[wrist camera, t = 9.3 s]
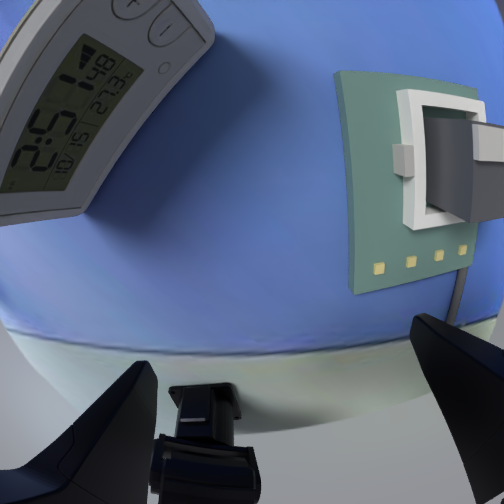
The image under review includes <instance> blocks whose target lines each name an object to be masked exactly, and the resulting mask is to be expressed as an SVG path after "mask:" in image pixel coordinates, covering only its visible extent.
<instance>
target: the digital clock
mask: <svg viewBox="0 0 504 504" xmlns="http://www.w3.org/2000/svg"><path fill="white" fill-rule="evenodd" d="M214 41H215V29H214V25H213V23H212V21H211V19H210V18H209V17H208V15H207V14H206V12H205V11H204V9H203V8H202V6H201V5H200V4H199V2H198V1H197V0H35V2H34V3H33V4H32V6H31V7H30V8H29V10H28V11H27V12H26V14H25V15H24V16H23V18H22V19H21V21H20V22H19V24H18V25H17V26H16V28H15V29H14V31H13V33H12V34H11V36H10V37H9V39H8V40H7V42H6V44H5V45H4V47H3V49H2V50H1V52H0V227H1V226H7V225H14V224H21V223H28V222H35V221H42V220H50V219H58V218H66V217H73V216H77V215H80V214H82V213H83V212H84V211H85V210H86V209H87V208H88V206H89V204H90V203H91V201H92V199H93V198H94V196H95V195H96V193H97V191H98V190H99V188H100V186H101V185H102V183H103V181H104V180H105V178H106V177H107V175H108V173H109V172H110V170H111V169H112V167H113V166H114V164H115V163H116V161H117V160H118V158H119V157H120V155H121V154H122V152H123V151H124V149H125V148H126V147H127V145H128V144H129V142H130V141H131V140H132V138H133V137H134V135H135V134H136V133H137V131H138V130H139V129H140V127H141V126H142V125H143V123H144V122H145V121H146V119H147V118H148V117H149V116H150V114H151V113H152V112H153V111H154V109H155V108H156V107H157V106H158V104H159V103H160V102H161V101H162V100H163V98H164V97H165V96H166V95H167V94H168V93H169V91H170V90H171V89H172V88H173V87H174V86H175V85H176V83H177V82H178V81H179V80H180V79H181V78H182V77H183V76H184V75H185V73H186V72H187V71H188V70H189V69H190V68H191V67H192V66H193V65H194V64H195V63H196V62H197V61H198V60H199V59H200V58H201V57H202V56H203V54H204V53H205V52H206V51H207V50H208V49H209V48H210V47H211V46H212V44H213V43H214Z"/></svg>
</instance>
